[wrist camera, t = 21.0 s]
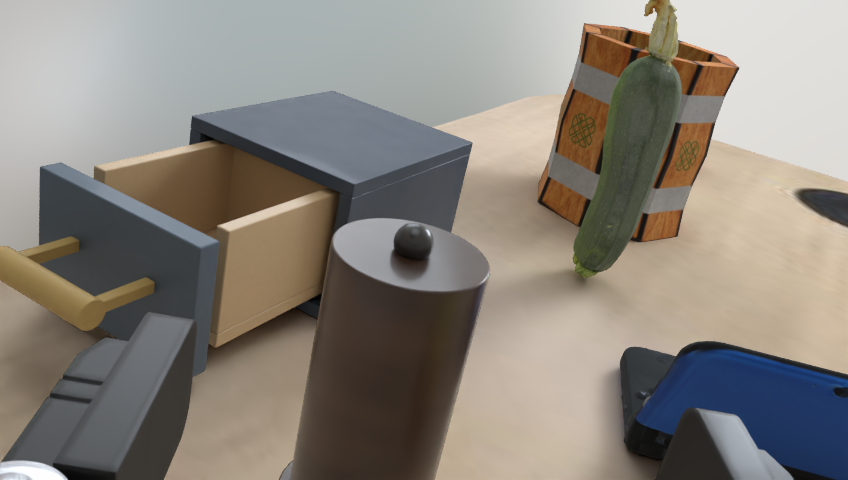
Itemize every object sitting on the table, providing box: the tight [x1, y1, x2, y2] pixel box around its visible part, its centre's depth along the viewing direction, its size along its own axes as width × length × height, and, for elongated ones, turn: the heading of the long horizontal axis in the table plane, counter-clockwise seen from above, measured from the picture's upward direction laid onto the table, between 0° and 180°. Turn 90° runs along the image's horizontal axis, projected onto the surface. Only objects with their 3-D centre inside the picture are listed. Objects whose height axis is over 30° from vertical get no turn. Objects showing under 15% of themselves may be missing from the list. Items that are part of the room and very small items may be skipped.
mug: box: [538, 23, 739, 242], centre depth 72 cm, size 20×14×15 cm
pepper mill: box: [279, 218, 490, 480], centre depth 26 cm, size 6×6×14 cm
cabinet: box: [189, 91, 472, 319], centre depth 51 cm, size 14×12×9 cm
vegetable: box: [573, 0, 682, 278], centre depth 54 cm, size 4×4×20 cm
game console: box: [620, 341, 848, 480], centre depth 40 cm, size 16×13×9 cm
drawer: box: [0, 139, 341, 377], centre depth 41 cm, size 17×10×7 cm, turn 149°
